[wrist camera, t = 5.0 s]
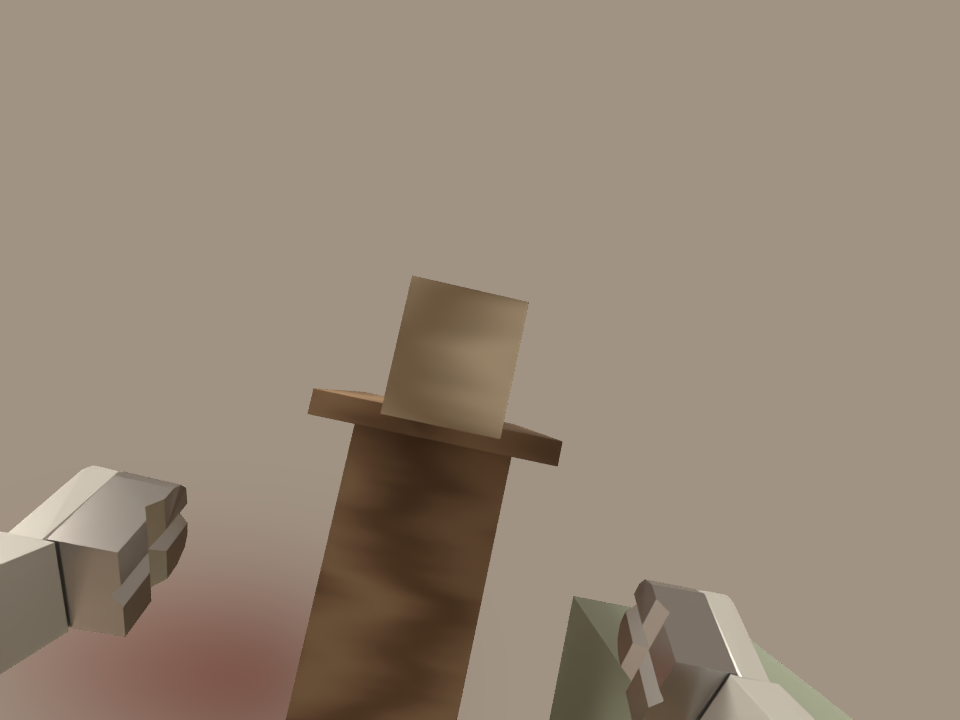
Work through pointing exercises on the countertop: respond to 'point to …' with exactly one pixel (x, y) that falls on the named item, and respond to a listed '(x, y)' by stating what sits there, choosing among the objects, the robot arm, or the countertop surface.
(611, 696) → the sage box
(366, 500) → the walnut stand
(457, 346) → the beech bar
